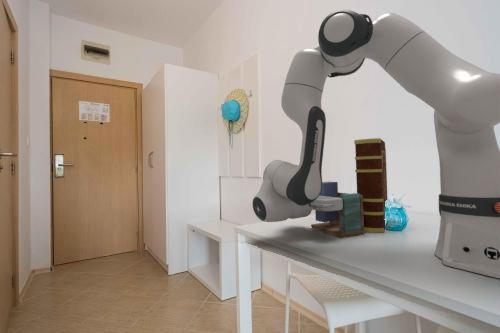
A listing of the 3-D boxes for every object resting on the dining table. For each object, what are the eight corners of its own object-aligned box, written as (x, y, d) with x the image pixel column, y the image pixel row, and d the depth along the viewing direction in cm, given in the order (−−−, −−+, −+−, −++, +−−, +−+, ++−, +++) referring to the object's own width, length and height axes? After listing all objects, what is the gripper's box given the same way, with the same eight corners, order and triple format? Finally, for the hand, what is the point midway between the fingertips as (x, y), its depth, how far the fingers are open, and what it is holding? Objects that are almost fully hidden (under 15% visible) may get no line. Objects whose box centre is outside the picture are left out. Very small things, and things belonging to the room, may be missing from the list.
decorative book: (383, 234, 81) (380, 137, 81) (356, 231, 85) (353, 139, 85) (388, 220, 100) (385, 142, 100) (366, 218, 104) (363, 143, 104)
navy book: (338, 219, 90) (337, 182, 90) (324, 222, 86) (323, 183, 86) (329, 217, 93) (328, 181, 93) (315, 220, 89) (314, 182, 89)
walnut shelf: (364, 234, 81) (362, 193, 81) (341, 238, 78) (340, 195, 78) (331, 224, 95) (330, 190, 95) (311, 227, 92) (310, 191, 92)
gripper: (324, 196, 74) (354, 192, 81) (278, 191, 91) (306, 188, 99) (325, 218, 74) (355, 212, 81) (279, 209, 91) (307, 205, 98)
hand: (328, 199), depth 90 cm, fingers closed on navy book, 4 cm apart
